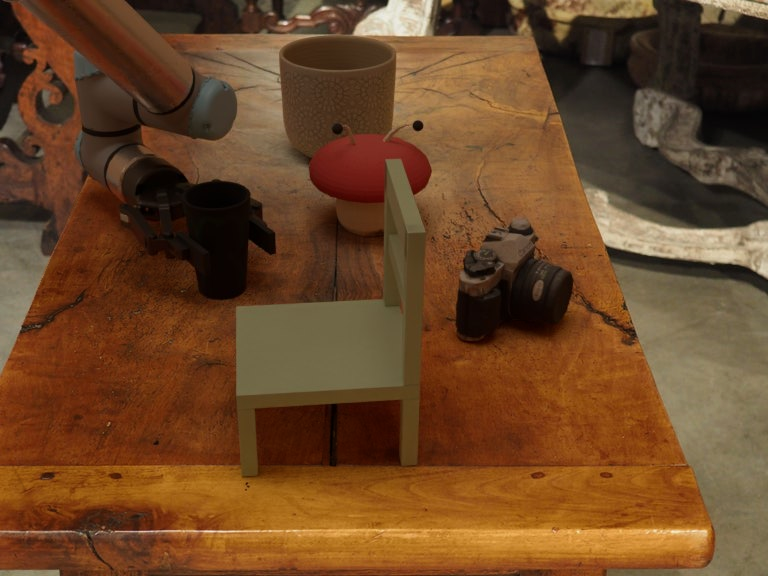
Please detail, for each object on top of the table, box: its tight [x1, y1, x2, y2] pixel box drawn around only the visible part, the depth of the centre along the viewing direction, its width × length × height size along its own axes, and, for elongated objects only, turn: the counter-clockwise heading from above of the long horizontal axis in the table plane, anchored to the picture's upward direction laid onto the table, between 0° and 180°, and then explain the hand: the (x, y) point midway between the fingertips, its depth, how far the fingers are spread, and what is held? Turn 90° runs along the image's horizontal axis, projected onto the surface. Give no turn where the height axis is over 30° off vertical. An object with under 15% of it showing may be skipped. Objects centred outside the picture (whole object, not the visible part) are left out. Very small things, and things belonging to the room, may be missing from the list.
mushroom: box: [308, 119, 433, 237], centre depth 137 cm, size 16×16×15 cm
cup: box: [181, 180, 252, 301], centre depth 123 cm, size 8×8×12 cm
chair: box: [235, 159, 427, 478], centre depth 98 cm, size 16×15×24 cm
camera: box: [455, 217, 574, 342], centre depth 118 cm, size 16×10×10 cm, turn 150°
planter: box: [278, 34, 397, 159], centre depth 158 cm, size 17×17×15 cm
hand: (240, 253), depth 119 cm, fingers closed on cup, 8 cm apart
